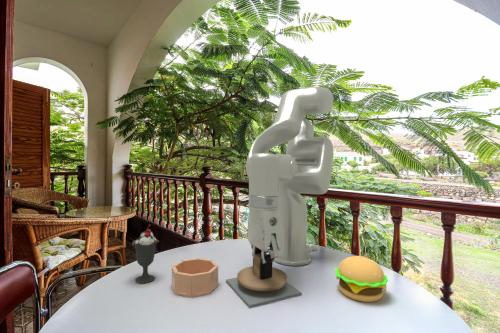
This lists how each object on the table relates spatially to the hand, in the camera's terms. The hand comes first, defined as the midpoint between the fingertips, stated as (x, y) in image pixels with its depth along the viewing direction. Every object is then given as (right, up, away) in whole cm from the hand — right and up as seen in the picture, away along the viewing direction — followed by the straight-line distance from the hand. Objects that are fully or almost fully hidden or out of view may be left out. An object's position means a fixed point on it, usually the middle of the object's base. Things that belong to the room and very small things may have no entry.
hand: (262, 274), depth 66 cm
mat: (0, -3, 0) cm, 3 cm away
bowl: (-17, -3, 0) cm, 17 cm away
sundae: (-31, -3, +4) cm, 31 cm away
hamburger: (+24, -4, -2) cm, 24 cm away
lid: (0, -1, 0) cm, 1 cm away
